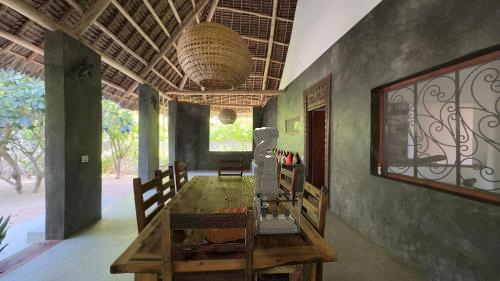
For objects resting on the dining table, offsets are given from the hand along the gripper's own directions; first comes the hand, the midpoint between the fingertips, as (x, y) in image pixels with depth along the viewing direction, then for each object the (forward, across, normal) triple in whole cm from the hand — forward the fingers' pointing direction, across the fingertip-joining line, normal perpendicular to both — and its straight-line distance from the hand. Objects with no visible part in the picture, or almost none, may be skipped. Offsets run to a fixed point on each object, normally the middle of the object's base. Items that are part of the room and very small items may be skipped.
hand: (269, 205), depth 135 cm
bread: (+14, +22, +9) cm, 28 cm away
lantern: (+14, +46, +8) cm, 48 cm away
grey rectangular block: (+7, +3, 0) cm, 8 cm away
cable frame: (+13, -4, 0) cm, 14 cm away
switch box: (+13, -4, 0) cm, 14 cm away
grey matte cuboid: (+7, -11, 0) cm, 13 cm away
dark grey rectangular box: (+7, -4, 0) cm, 8 cm away
